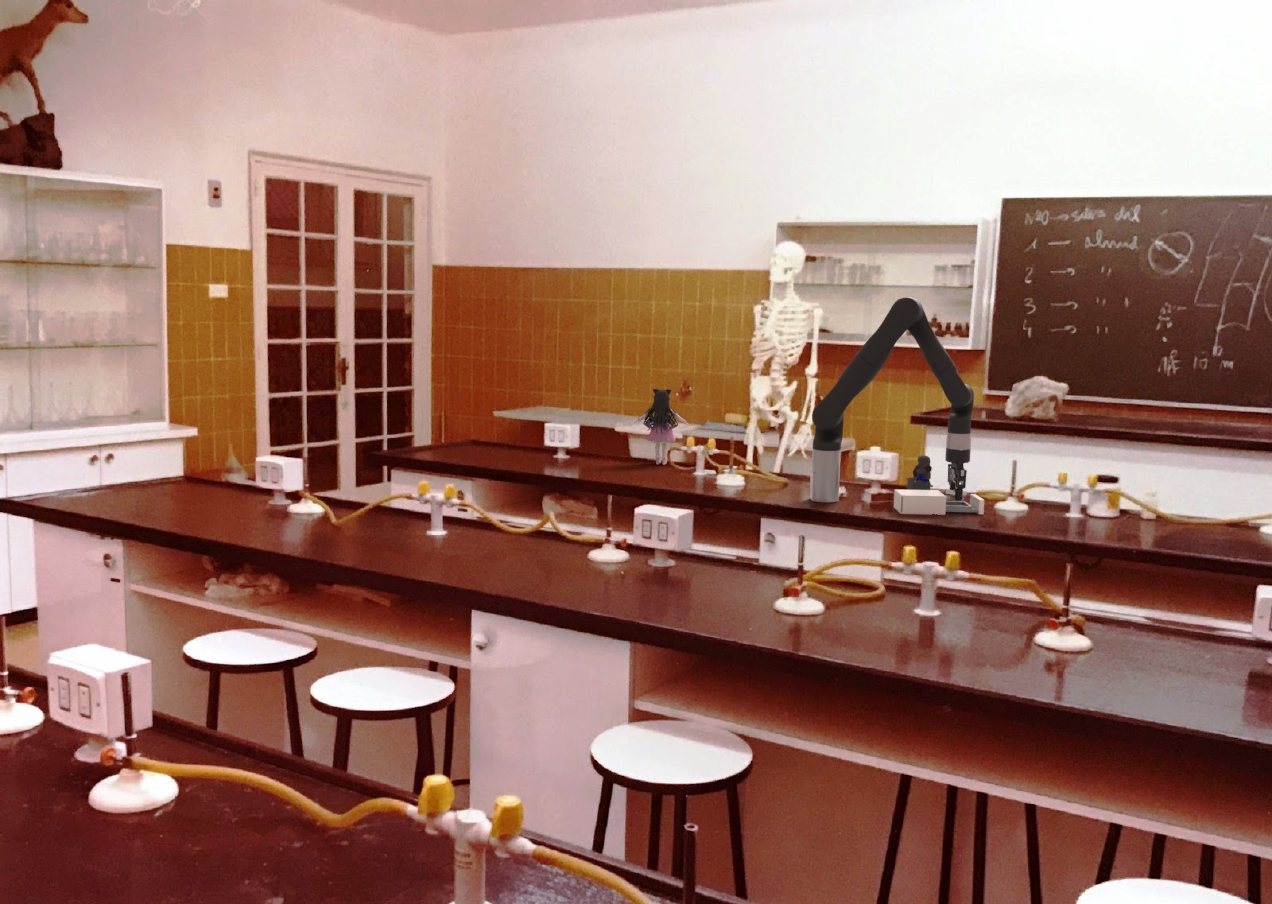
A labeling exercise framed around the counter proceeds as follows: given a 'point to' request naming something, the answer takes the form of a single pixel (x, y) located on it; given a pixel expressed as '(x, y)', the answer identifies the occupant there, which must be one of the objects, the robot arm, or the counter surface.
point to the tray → (966, 505)
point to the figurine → (661, 423)
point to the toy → (921, 475)
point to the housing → (919, 502)
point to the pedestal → (950, 498)
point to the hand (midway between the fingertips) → (955, 498)
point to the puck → (952, 493)
